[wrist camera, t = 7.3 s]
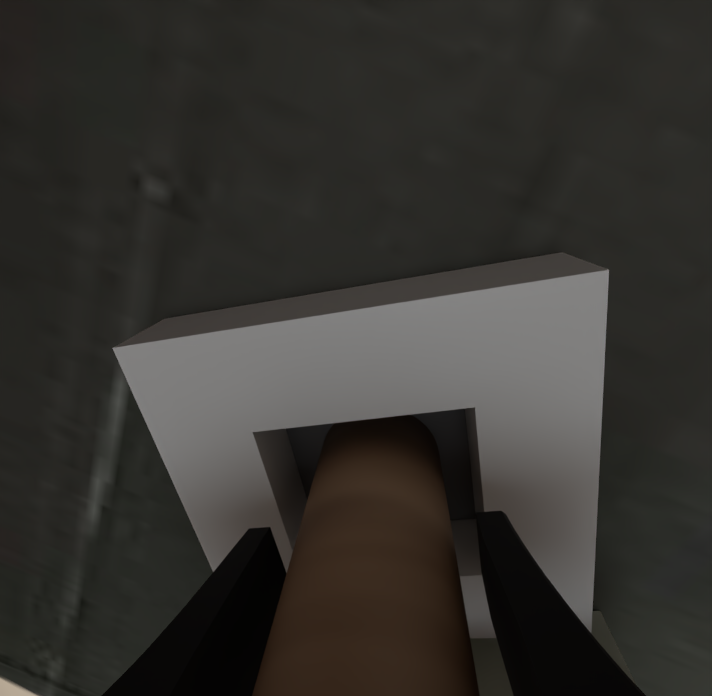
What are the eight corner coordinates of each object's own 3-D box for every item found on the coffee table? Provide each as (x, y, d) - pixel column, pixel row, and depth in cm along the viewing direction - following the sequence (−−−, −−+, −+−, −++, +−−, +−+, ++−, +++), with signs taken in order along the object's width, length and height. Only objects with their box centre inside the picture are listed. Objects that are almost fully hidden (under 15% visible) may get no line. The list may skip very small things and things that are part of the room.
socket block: (560, 566, 15) (591, 636, 12) (265, 580, 17) (245, 643, 14) (561, 252, 10) (608, 269, 8) (165, 318, 12) (112, 348, 10)
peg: (444, 497, 14) (502, 858, 6) (335, 505, 14) (271, 841, 7) (432, 399, 12) (488, 716, 5) (311, 413, 13) (197, 712, 5)
